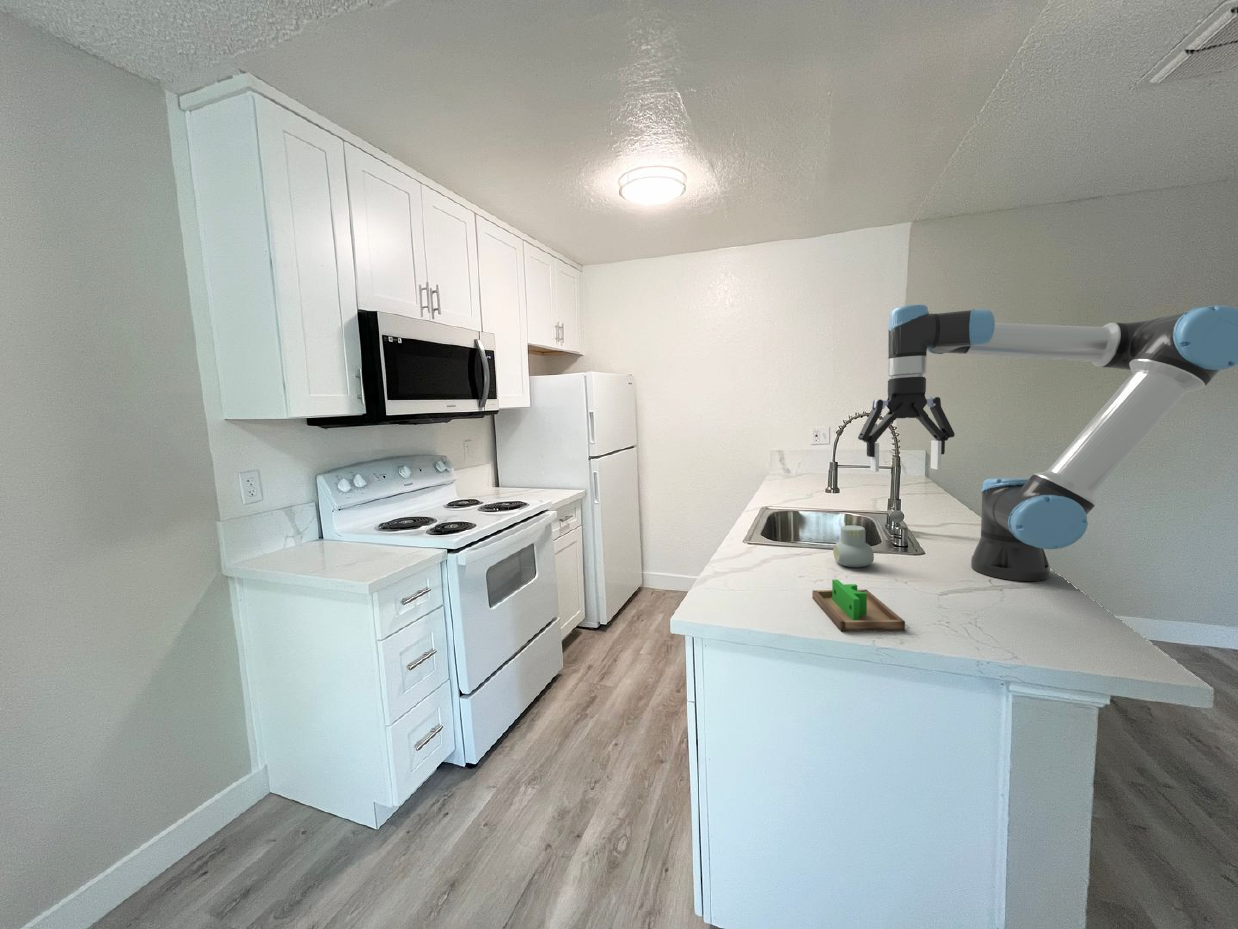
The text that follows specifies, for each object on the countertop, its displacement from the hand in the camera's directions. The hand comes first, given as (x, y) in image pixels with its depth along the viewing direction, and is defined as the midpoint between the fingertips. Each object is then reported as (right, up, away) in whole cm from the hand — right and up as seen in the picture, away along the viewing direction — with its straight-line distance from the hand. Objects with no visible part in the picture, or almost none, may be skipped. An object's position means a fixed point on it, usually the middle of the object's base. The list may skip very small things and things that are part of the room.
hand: (904, 470), depth 114 cm
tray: (-18, -29, -13) cm, 37 cm away
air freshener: (-4, -26, +17) cm, 31 cm away
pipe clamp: (-19, -29, -13) cm, 37 cm away
